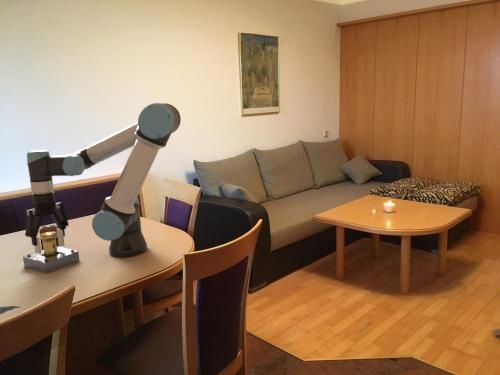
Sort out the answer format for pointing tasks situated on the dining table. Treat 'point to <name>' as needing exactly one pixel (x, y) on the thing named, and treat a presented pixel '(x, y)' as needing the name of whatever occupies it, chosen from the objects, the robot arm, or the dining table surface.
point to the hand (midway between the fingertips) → (50, 249)
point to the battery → (49, 229)
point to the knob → (49, 243)
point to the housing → (51, 260)
